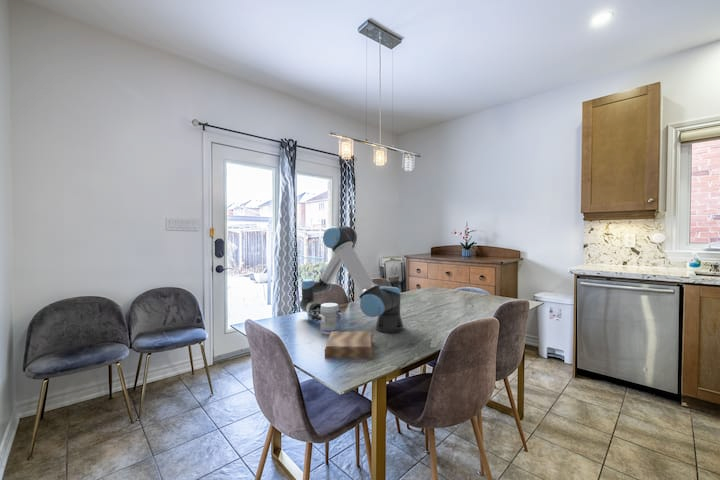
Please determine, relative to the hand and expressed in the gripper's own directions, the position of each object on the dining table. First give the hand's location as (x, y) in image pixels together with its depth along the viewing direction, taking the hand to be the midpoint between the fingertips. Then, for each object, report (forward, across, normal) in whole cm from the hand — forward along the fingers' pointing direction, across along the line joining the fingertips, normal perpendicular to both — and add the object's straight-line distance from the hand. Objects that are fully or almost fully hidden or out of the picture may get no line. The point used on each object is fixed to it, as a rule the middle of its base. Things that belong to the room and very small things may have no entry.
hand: (333, 318), depth 159 cm
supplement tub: (-5, 0, -9) cm, 10 cm away
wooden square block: (+21, +3, -8) cm, 23 cm away
